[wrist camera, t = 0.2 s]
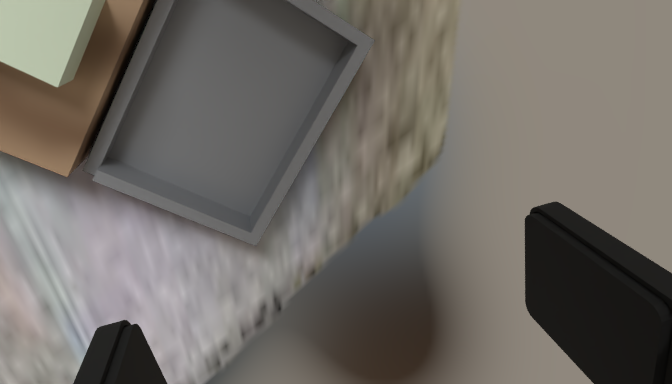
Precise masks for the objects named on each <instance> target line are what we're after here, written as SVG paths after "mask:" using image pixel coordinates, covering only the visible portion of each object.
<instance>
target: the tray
mask: <svg viewBox="0 0 672 384" xmlns="http://www.w3.org/2000/svg"><path fill="white" fill-rule="evenodd" d="M374 41H375V40H374V39H372V38H370V37H369V36H367V35H366V34H364V33H363V32H361V31H360V30H358V29H357V28H355V27H354V26H352V25H350V24H349V23H347V22H346V21H344V20H343V19H341V18H340V17H338V16H337V15H335V14H334V13H332V12H331V11H329V10H327V9H326V8H324V7H323V6H321V5H320V4H318V3H317V2H315V1H314V0H157V2H156V4H155V6H154V9H153V11H152V13H151V16H150V18H149V20H148V22H147V25H146V27H145V29H144V32H143V34H142V36H141V38H140V41H139V43H138V45H137V48H136V50H135V52H134V54H133V57H132V59H131V61H130V64H129V66H128V68H127V70H126V73H125V75H124V77H123V80H122V82H121V84H120V86H119V89H118V91H117V93H116V96H115V98H114V100H113V103H112V105H111V107H110V109H109V112H108V114H107V116H106V119H105V121H104V123H103V125H102V128H101V130H100V132H99V135H98V137H97V139H96V141H95V144H94V146H93V148H92V151H91V153H90V155H89V157H88V160H87V162H86V164H85V167H84V169H83V171H84V172H87V173H89V174H92V175H94V178H93V180H92V181H94V182H97V183H99V184H102V185H104V186H107V187H109V188H112V189H114V190H117V191H119V192H122V193H124V194H127V195H129V196H132V197H134V198H137V199H139V200H142V201H144V202H147V203H149V204H152V205H154V206H157V207H159V208H162V209H164V210H167V211H169V212H172V213H174V214H177V215H179V216H182V217H184V218H187V219H189V220H192V221H194V222H197V223H199V224H202V225H204V226H207V227H209V228H212V229H214V230H217V231H219V232H222V233H224V234H227V235H229V236H232V237H234V238H237V239H239V240H242V241H244V242H247V243H249V244H252V245H254V246H257V244H258V242H259V240H260V239H261V237H262V235H263V233H264V232H265V230H266V228H267V227H268V225H269V223H270V221H271V220H272V218H273V216H274V214H275V213H276V211H277V209H278V207H279V206H280V204H281V202H282V201H283V199H284V197H285V195H286V194H287V192H288V190H289V188H290V187H291V185H292V183H293V181H294V180H295V178H296V176H297V175H298V173H299V171H300V169H301V168H302V166H303V164H304V162H305V161H306V159H307V157H308V155H309V154H310V152H311V150H312V148H313V147H314V145H315V143H316V142H317V140H318V138H319V136H320V135H321V133H322V131H323V129H324V128H325V126H326V124H327V122H328V121H329V119H330V117H331V116H332V114H333V112H334V110H335V109H336V107H337V105H338V103H339V102H340V100H341V98H342V96H343V95H344V93H345V91H346V90H347V88H348V86H349V84H350V83H351V81H352V79H353V77H354V76H355V74H356V72H357V70H358V69H359V67H360V65H361V64H362V62H363V60H364V58H365V57H366V55H367V53H368V51H369V50H370V48H371V46H372V44H373V43H374Z"/></svg>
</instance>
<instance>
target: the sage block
mask: <svg viewBox="0 0 672 384" xmlns="http://www.w3.org/2000/svg"><path fill="white" fill-rule="evenodd" d="M104 3H105V0H0V61H1V62H3V63H5V64H7V65H10V66H12V67H14V68H16V69H18V70H20V71H23V72H25V73H27V74H29V75H31V76H33V77H36V78H38V79H40V80H42V81H44V82H47V83H49V84H51V85H53V86H55V87H57V88H58V87H60V86H62V85H64V84H66V83H68V82H70V81H72V80H73V79H74V76H75V74H76V72H77V69H78V67H79V64H80V62H81V59H82V57H83V54H84V52H85V49H86V47H87V45H88V42H89V40H90V37H91V35H92V32H93V30H94V27H95V25H96V22H97V20H98V17H99V15H100V13H101V10H102V8H103V5H104Z"/></svg>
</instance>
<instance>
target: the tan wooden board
mask: <svg viewBox="0 0 672 384" xmlns="http://www.w3.org/2000/svg"><path fill="white" fill-rule="evenodd" d="M154 2H155V0H105V3H104V5H103V8H102V10H101V13H100V15H99V17H98V20H97V22H96V25H95V27H94V30H93V32H92V35H91V37H90V40H89V42H88V45H87V47H86V49H85V52H84V54H83V57H82V59H81V62H80V64H79V67H78V69H77V72H76V74H75V76H74V79H73V80H72V81H70V82H68V83H66V84H64V85H62V86H60V87H58V88H57V87H55V86H53V85H51V84H49V83H47V82H44V81H42V80H40V79H38V78H36V77H33V76H31V75H29V74H27V73H25V72H23V71H20V70H18V69H16V68H14V67H12V66H10V65H7V64H5V63H3V62H1V61H0V151H2V152H5V153H7V154H10V155H12V156H15V157H17V158H20V159H22V160H25V161H28V162H30V163H33V164H35V165H38V166H40V167H43V168H45V169H48V170H50V171H53V172H55V173H58V174H60V175H63V176H65V177H68V176H69V175H70V174H71V173H72V172H73V171H74V170H75V169H76V168H77V166H78V165H79V164H80V163H81V162H82V161H83V160H84V159H85V158H86V157H87V156H88V154H89V151H90V149H91V147H92V144H93V142H94V140H95V137H96V135H97V133H98V131H99V128H100V126H101V124H102V121H103V119H104V117H105V115H106V112H107V110H108V108H109V105H110V103H111V101H112V98H113V96H114V94H115V92H116V89H117V87H118V85H119V82H120V80H121V78H122V76H123V73H124V71H125V69H126V66H127V64H128V62H129V59H130V57H131V55H132V53H133V50H134V48H135V46H136V43H137V41H138V39H139V36H140V34H141V32H142V30H143V27H144V25H145V23H146V20H147V18H148V16H149V14H150V11H151V9H152V7H153V4H154Z"/></svg>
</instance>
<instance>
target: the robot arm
mask: <svg viewBox="0 0 672 384" xmlns="http://www.w3.org/2000/svg"><path fill="white" fill-rule="evenodd" d="M525 297H526V298H525V302H526V307H527V309H528V311H529V313H530V315H531V316H532V318H533V319H534V320H535V321H536V322H537V323H538V324H539V325H540V326H541V327H542V328H543V329H544V331H545V332H546V333H547V334H548V335H549V336H550V337H551V338H552V339H553V340H554V341H555V342H556V343H557V344H558V346H559V347H560V348H561V349H562V350H563V351H564V352H565V353H566V354H567V355H568V356H569V357H570V359H571V360H572V361H573V362H574V363H575V364H576V365H577V366H578V367H579V368H580V369H581V370H582V371H583V372H584V374H585V375H586V376H587V377H588V378H589V379H590V380H591V381H592V382H593V383H594V384H672V273H670V272H669V271H667V270H665V269H664V268H662V267H660V266H659V265H658V264H656V263H654V262H653V261H651V260H649V259H648V258H646V257H645V256H643V255H642V254H640V253H639V252H637V251H635V250H634V249H632V248H630V247H629V246H627V245H626V244H624V243H623V242H621V241H619V240H618V239H616V238H615V237H613V236H612V235H610V234H608V233H607V232H605V231H604V230H602V229H600V228H599V227H597V226H596V225H594V224H592V223H591V222H589V221H588V220H586V219H585V218H583V217H581V216H580V215H578V214H576V213H575V212H573V211H572V210H570V209H569V208H567V207H565V206H564V205H562V204H561V203H559V202H552V203H548V204H544V205H541V206H537V207H534V208H532V209H531V212H530V215H528V216H526V218H525ZM73 384H167V382H166V380H165V378H164V376H163V374H162V372H161V370H160V368H159V366H158V364H157V361H156V359H155V357H154V355H153V353H152V351H151V349H150V347H149V345H148V343H147V341H146V339H145V336H144V334H143V332H142V330H141V328H140V327H139V325H137V324H133V325H131V324H130V323H129V322H128V321H127V320H123V321H119V322H116V323H112V324H109V325H105V326H101V327H99V328H97V330H96V331H95V334H94V336H93V338H92V341H91V343H90V346H89V348H88V350H87V353H86V355H85V357H84V360H83V362H82V364H81V367H80V369H79V372H78V374H77V376H76V379H75V381H74V383H73Z"/></svg>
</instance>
